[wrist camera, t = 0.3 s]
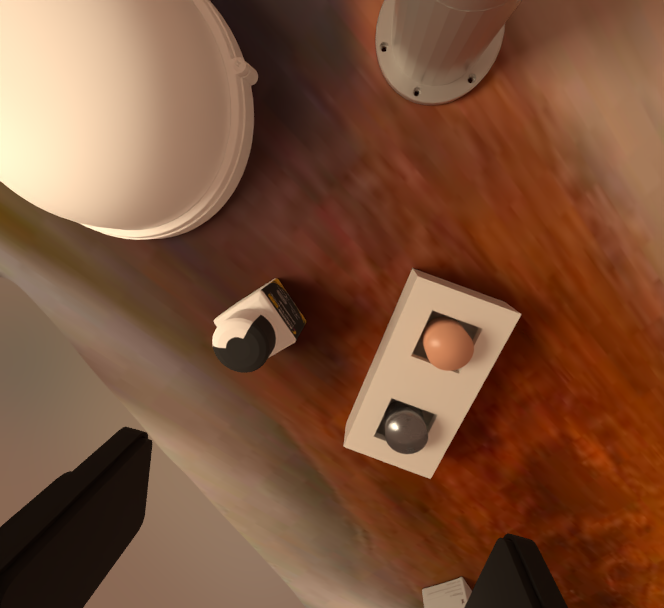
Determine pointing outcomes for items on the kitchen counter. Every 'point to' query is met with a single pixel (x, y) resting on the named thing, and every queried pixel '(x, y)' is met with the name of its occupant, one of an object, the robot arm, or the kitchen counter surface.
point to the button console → (427, 369)
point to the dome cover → (123, 112)
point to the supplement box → (447, 594)
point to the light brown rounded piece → (447, 343)
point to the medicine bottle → (257, 328)
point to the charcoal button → (405, 428)
